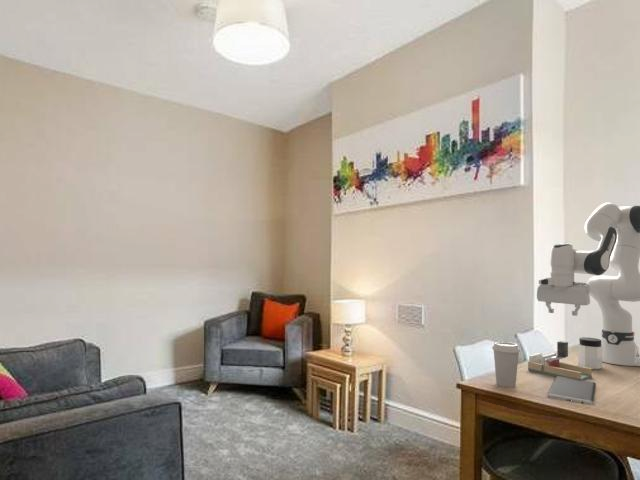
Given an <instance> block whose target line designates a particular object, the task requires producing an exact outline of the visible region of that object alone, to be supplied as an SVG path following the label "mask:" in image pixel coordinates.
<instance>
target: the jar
mask: <svg viewBox="0 0 640 480" xmlns="http://www.w3.org/2000/svg"><path fill="white" fill-rule="evenodd" d="M577 347H578V350H577V351H578V354H577V355H578V356H577V360H578V361H577V362H578V364H577V366H582V367H587V368H592V370H599V369H600V370H601V369H603V368H604V367H603V361H602V346H601V339H599V338H595V337H587V336H586V337H585V336H584V337H583V336H582V337H580V338H579V343H578V346H577Z"/></svg>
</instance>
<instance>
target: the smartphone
mask: <svg viewBox="0 0 640 480" xmlns="http://www.w3.org/2000/svg"><path fill="white" fill-rule="evenodd" d="M596 385H597V384H596V382H595V381H591V380H579V379H573V378H566V377H559V376H556V377H555V376H554V380H553V382H552V383H551V386H550V388H549V390H548V392H547V398H549V399H550V398H551V399H556V400H562V401H568V402H572V403H578V404H579V403H580V404H584V405H588V406H589V405H590V406H591V405H594V401H595V400H594V399H595V392H596ZM571 400H572V401H571Z"/></svg>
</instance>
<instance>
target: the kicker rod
mask: <svg viewBox="0 0 640 480" xmlns="http://www.w3.org/2000/svg"><path fill="white" fill-rule="evenodd" d="M556 343H557V344H556V345H557V346H556V347H557V348H556V349H557V350H556V356H555V357H550V358H546V362H547V363H549V366H552V367H557V368H559V362H560V360H562V359H566V358H568V357H569V342H568V341H561V340H559V341H557V342H556Z"/></svg>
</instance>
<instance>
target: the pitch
mask: <svg viewBox="0 0 640 480" xmlns="http://www.w3.org/2000/svg"><path fill="white" fill-rule="evenodd" d="M555 356H557V352H552V353H548V354H545V355H542V353H541V352H538V353H534V354H530V355H528V362H527V370H529V372H532V371H534V373H537V372H538V373H537V374H542V375H546V376H552V377H554V378H555V377H556V376H559V377H566V378H573V379H579V380H586V381H588V380H589V379H591V378H592V376H593V371H592V370H593V369H592V368H587V367H582V366H579V365H578V364H577V365H575V364H571V363H566V362H560V361H559V368H557V367H552V366H548V365H545V359H549V358H552V357H555Z"/></svg>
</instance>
